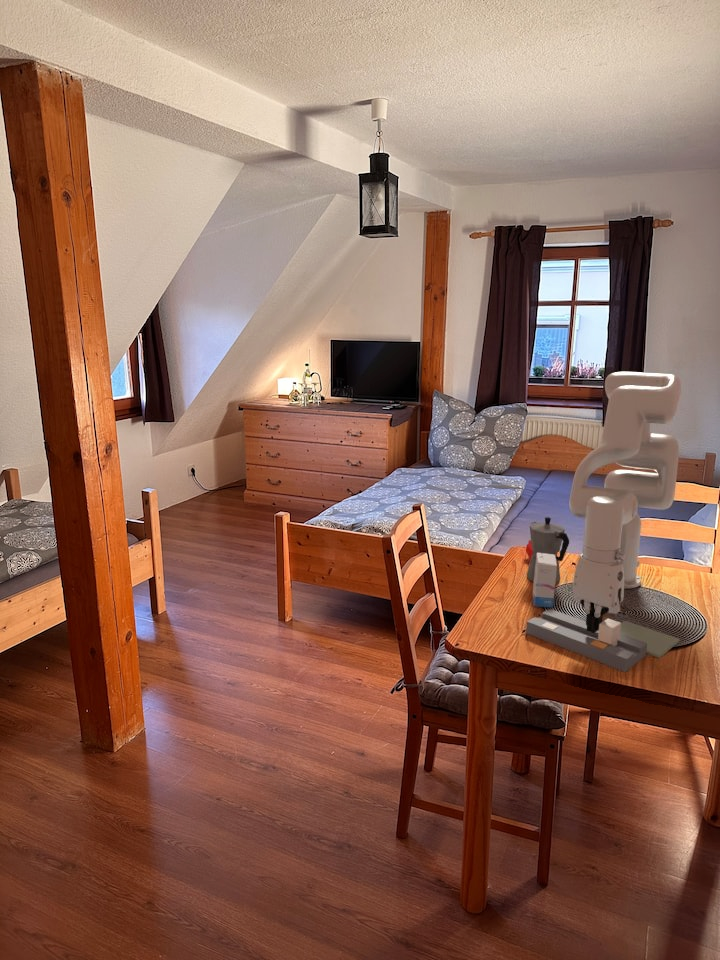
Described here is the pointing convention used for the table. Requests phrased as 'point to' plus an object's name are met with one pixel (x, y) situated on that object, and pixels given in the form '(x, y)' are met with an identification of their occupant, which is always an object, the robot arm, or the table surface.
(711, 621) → the table surface
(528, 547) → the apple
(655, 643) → the mat
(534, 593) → the ink box
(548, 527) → the coffeepot
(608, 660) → the switch panel
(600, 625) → the switch tab
